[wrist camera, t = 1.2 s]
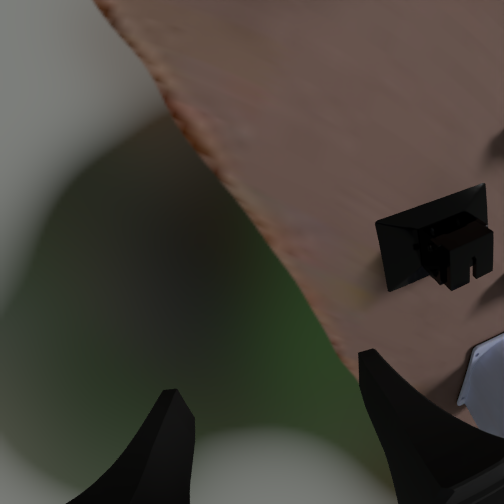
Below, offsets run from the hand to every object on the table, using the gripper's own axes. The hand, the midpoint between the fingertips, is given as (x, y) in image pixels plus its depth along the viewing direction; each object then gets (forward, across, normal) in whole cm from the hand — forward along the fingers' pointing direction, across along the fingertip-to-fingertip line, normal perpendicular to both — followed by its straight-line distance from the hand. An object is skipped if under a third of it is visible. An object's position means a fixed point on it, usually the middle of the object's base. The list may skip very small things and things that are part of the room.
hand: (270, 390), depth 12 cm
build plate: (+10, -13, 0) cm, 16 cm away
